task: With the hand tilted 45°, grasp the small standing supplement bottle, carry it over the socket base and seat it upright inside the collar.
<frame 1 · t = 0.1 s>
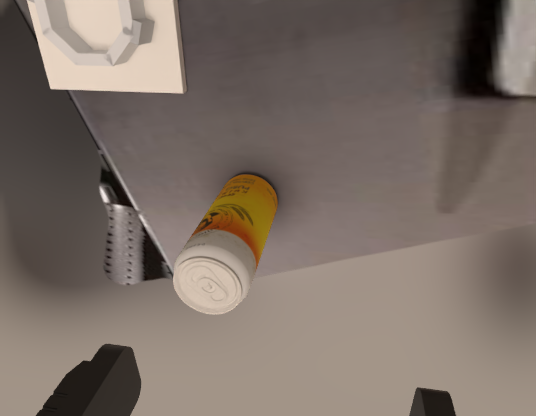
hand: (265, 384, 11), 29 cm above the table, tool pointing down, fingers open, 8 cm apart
beer can: (251, 196, 42), on the table
socket base: (105, 9, 35), on the table
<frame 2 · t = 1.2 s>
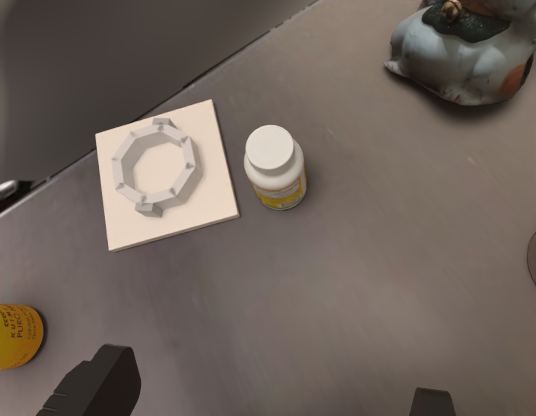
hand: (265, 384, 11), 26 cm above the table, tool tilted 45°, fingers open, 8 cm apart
beer can: (22, 335, 40), on the table
socket base: (165, 175, 43), on the table
supplement bottle: (281, 187, 41), on the table
lucky cat figurine: (450, 57, 42), on the table
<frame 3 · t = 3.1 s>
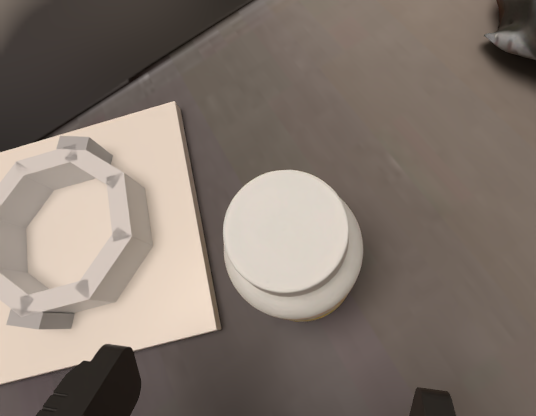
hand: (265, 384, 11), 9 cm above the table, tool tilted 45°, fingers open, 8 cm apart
socket base: (89, 239, 24), on the table
supplement bottle: (302, 270, 21), on the table
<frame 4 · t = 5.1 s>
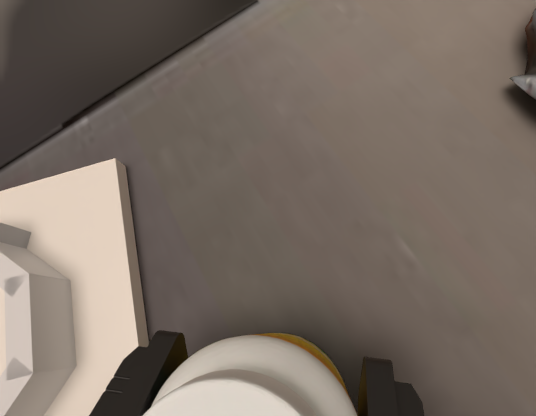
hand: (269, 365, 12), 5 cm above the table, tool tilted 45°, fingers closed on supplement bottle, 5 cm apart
supplement bottle: (280, 401, 16), on the table, touching gripper
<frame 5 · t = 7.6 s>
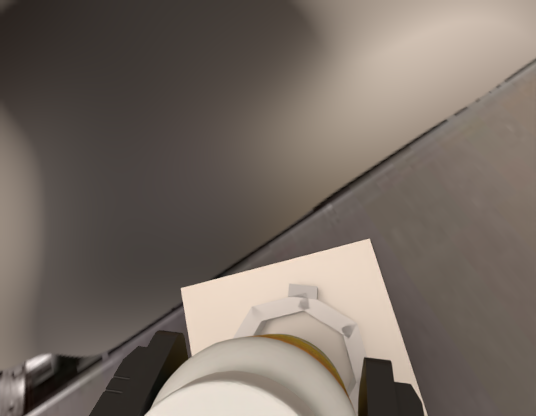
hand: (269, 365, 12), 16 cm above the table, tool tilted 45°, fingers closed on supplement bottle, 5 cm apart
socket base: (299, 364, 27), on the table
supplement bottle: (280, 402, 15), point 12 cm above the table, touching gripper
when the fingers open (7 cm above the table, at t = 10.1 s): supplement bottle drops 2 cm, resting on socket base.
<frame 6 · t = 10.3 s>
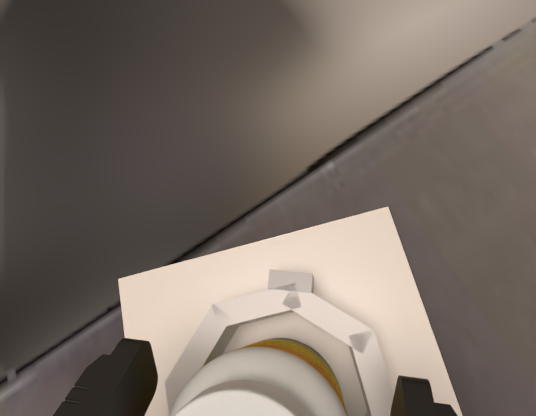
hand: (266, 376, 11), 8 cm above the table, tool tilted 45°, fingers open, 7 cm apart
socket base: (286, 390, 18), on the table
supplement bottle: (282, 399, 17), point 1 cm above the table, touching socket base
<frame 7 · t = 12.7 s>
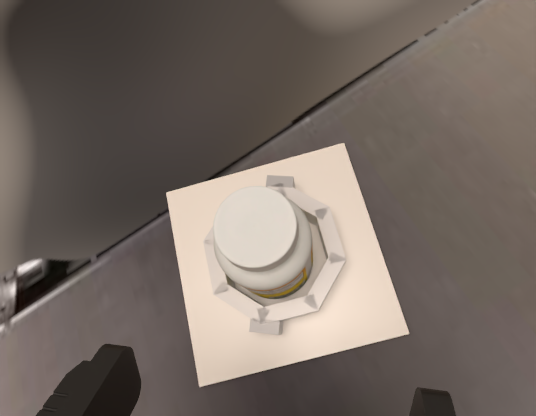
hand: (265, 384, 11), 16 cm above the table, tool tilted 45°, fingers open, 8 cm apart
socket base: (278, 259, 28), on the table
supplement bottle: (275, 260, 27), point 1 cm above the table, touching socket base
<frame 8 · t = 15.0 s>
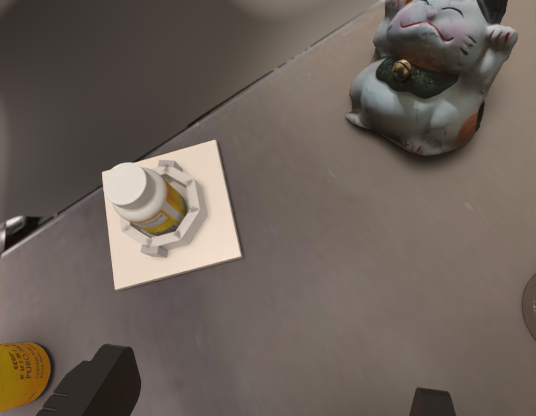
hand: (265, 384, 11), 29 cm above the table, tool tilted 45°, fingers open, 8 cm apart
beer can: (30, 372, 41), on the table
socket base: (170, 214, 44), on the table
supplement bottle: (166, 214, 43), point 1 cm above the table, touching socket base
lucky cat figurine: (407, 102, 44), on the table
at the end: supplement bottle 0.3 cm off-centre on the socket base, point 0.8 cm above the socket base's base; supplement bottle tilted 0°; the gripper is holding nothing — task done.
